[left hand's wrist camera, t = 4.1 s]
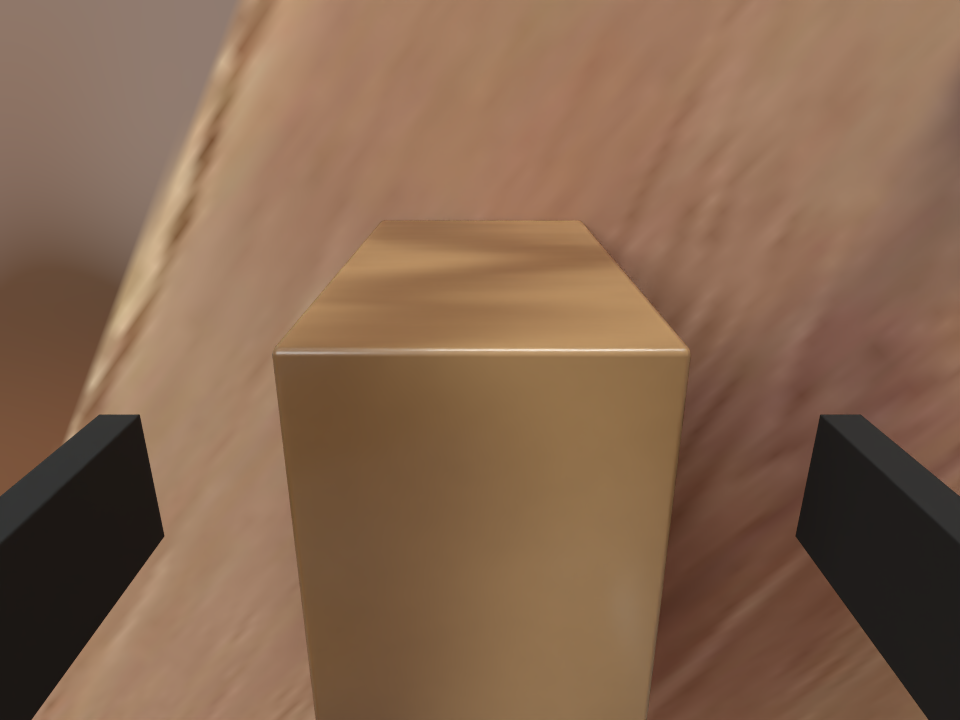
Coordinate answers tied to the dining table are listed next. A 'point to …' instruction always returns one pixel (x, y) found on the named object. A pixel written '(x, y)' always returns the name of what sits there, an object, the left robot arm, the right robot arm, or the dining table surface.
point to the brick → (481, 475)
